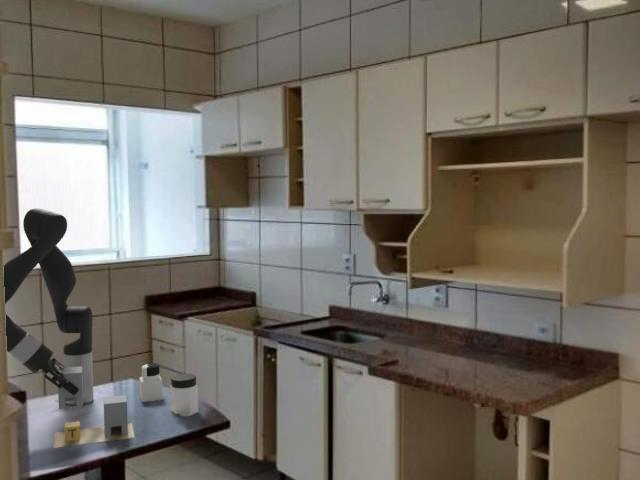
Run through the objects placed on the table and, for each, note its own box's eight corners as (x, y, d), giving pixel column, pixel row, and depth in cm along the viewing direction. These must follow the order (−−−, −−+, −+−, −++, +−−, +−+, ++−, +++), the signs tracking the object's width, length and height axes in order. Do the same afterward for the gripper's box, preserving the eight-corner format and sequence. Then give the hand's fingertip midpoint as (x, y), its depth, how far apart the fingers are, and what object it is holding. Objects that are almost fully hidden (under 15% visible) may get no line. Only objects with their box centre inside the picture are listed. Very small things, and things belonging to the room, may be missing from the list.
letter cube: (65, 441, 182) (64, 427, 182) (65, 436, 186) (65, 422, 186) (79, 439, 184) (79, 426, 183) (80, 434, 187) (79, 421, 187)
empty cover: (104, 437, 185) (103, 404, 184) (104, 429, 191) (103, 397, 190) (127, 434, 187) (126, 401, 186) (126, 427, 193) (125, 395, 192)
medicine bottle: (160, 394, 228) (159, 361, 227) (162, 400, 221) (162, 366, 220) (139, 396, 225) (139, 363, 225) (141, 402, 219) (141, 368, 218)
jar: (199, 407, 213) (198, 372, 212) (196, 416, 205) (196, 380, 204) (172, 408, 212) (171, 373, 211) (168, 417, 204) (168, 380, 203)
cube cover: (58, 409, 180) (57, 374, 179) (60, 401, 186) (58, 368, 185) (82, 406, 182) (81, 372, 181) (83, 399, 188) (82, 366, 187)
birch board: (53, 451, 178) (53, 447, 178) (55, 435, 189) (55, 432, 189) (134, 440, 185) (134, 437, 185) (132, 426, 196) (132, 423, 196)
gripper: (38, 348, 173) (86, 386, 178) (42, 337, 187) (86, 372, 192) (18, 369, 172) (66, 406, 177) (23, 356, 186) (68, 391, 191)
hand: (76, 388), depth 184 cm, fingers closed on cube cover, 6 cm apart
